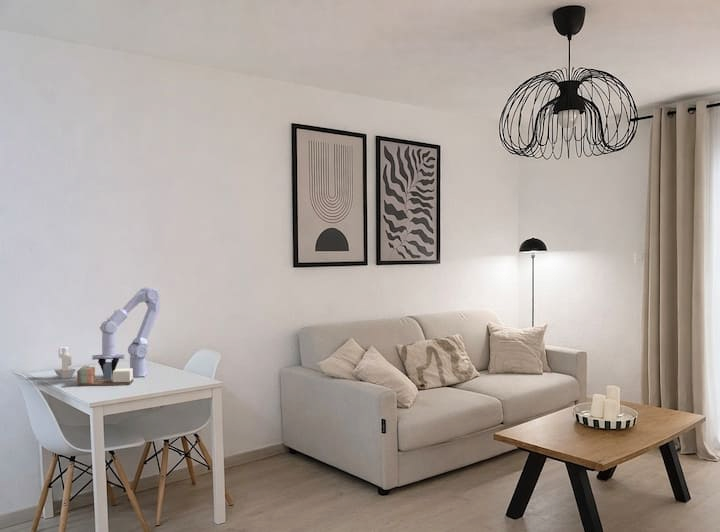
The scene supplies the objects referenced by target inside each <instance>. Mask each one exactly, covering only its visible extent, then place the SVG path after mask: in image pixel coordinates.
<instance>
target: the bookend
mask: <svg viewBox="0 0 720 532" xmlns="http://www.w3.org/2000/svg"><path fill="white" fill-rule="evenodd" d="M132 379H133V380H134V377H133V368H130V367H126V368H115V370H114V371H113V382H130V381H131V380H132Z"/></svg>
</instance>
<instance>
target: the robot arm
mask: <svg viewBox="0 0 720 532" xmlns="http://www.w3.org/2000/svg"><path fill="white" fill-rule="evenodd" d="M160 297H161V295H160V293H159V290H158V289H156V288H154V287H147V286H143V287H142V288H140V289H139V290H138V291H137V292H136V293H135V294H134V295H133V297H132V298H131V299H130V300H129V301H128V302H127V303H125V304H126V305H124V307H122V308H119V309H116V310H114V311H113V312H114V313H113V314H112V315H111V316H110V317H108V318H107V319H106V320H105V321H103V322H101V324H100V325H101V326H99V330H100V331H101V332H102V333H101V346H102V347H101V353H102V354H94V355H91V359H92V361H96V360H98V361H97V363H98V364H99V366H100V368H101V371H102V373H103V364H105V363H106V362H107V360H111V361H110V362H112V375H113V371H114V370H115V369H117V365H118V363H119V361H120V360H125V359H126V354H117V353H116V336H115V335H116V333H115V332H117V330H118V327H119V326H120V325H121V324H122V323H123V322H124V321H125V320H126V319H127V318H128V314H129V313H130V312H131V311H132V310H133V309H135V308H136V307H137V306H138V305H139V304H140V303H145V304H146V307H147V310H146V311H145V315H144V317H143V319H142V323H141V325H140V327H139V330H138V332H137V335H136V337H135V338H133V340H132V342H131V343H130V344H129V346H128V347H127V352H128V354H129V355H130V356H129V368H133V378H137V377H139V378H142V377H143V378H144V377H146V376H147V375H148V373H149V371H147V360H146V356H147V354H148V347H149V342H148V339H149V336H150V334H151V332H152V329H153V327H154V324H155V320H156V319H157V316H158V314H159V311H160V308H161V302H160Z"/></svg>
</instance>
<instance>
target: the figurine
mask: <svg viewBox="0 0 720 532" xmlns="http://www.w3.org/2000/svg"><path fill="white" fill-rule="evenodd" d="M69 352H70V351H69V346H61V347H58V357H59V359H61V369H60V368H57V369H54V373H56V375H57V378H59V379H68V378H72V377H73V376H74V374H75V373H76V372H77V370H76V369H75V368H72V367H70V366H72V356H71V354H69Z"/></svg>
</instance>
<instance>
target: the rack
mask: <svg viewBox="0 0 720 532" xmlns="http://www.w3.org/2000/svg"><path fill="white" fill-rule="evenodd" d="M76 378H77V380H76V381H77V383H76V386H77V387H97V386H99V387H100V386H104V387H105V386H107V387H108V386H129V385H131V384H132V383H133V382H134V378H133V379H132V380H131V381H130V382H113V380H103V379H96V366H90V365H83V366H82V367H80V369H78V370H76Z"/></svg>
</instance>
